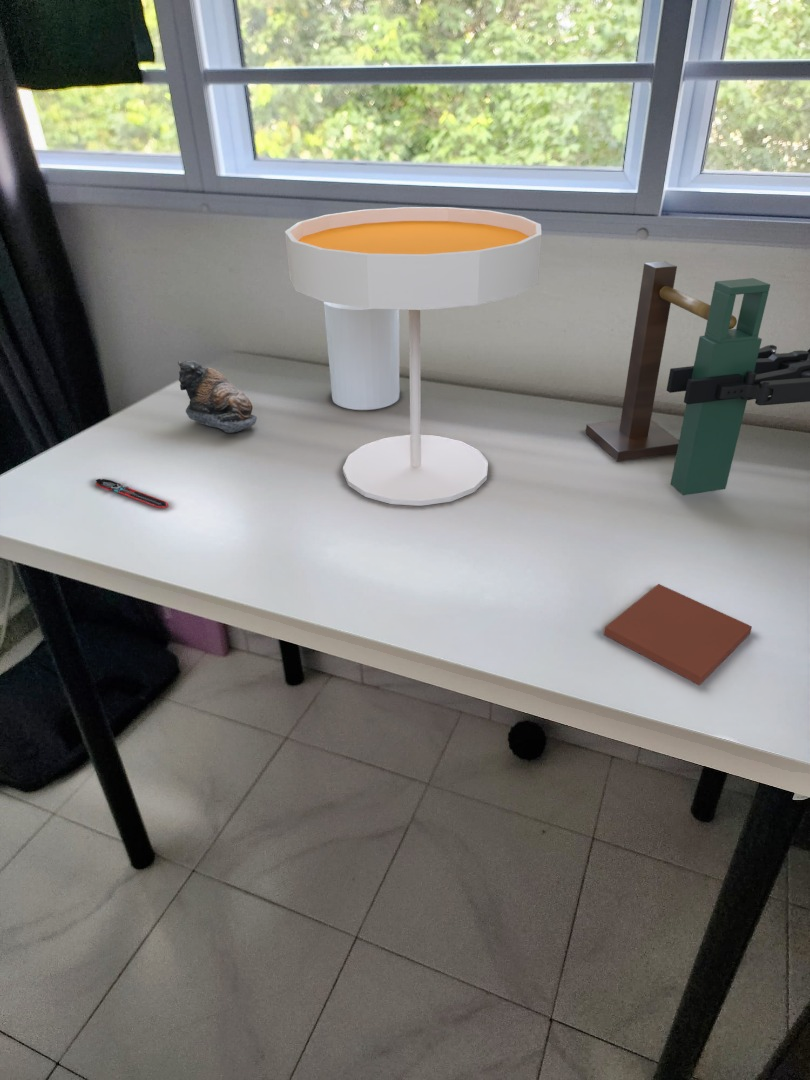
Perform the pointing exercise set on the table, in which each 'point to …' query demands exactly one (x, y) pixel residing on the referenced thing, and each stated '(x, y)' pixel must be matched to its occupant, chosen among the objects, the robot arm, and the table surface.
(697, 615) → the cork pad
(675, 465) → the green block with loop
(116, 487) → the pen
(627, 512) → the table surface
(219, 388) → the bison figurine
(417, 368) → the white stemmed bowl
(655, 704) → the table surface
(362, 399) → the bottle
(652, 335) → the hook stand
